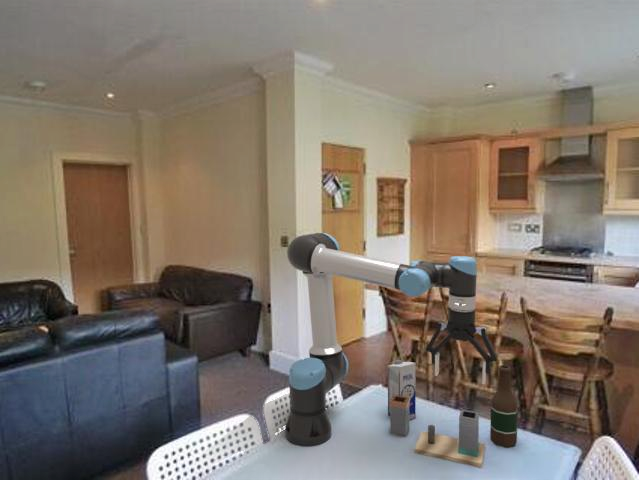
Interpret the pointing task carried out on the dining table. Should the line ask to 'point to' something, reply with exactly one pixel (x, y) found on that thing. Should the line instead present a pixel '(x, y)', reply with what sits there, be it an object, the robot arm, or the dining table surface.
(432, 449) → the pin board
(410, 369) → the milk carton
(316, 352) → the robot arm
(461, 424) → the grey rectangular box
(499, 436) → the beer bottle
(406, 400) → the sleeve rust
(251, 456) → the dining table surface
